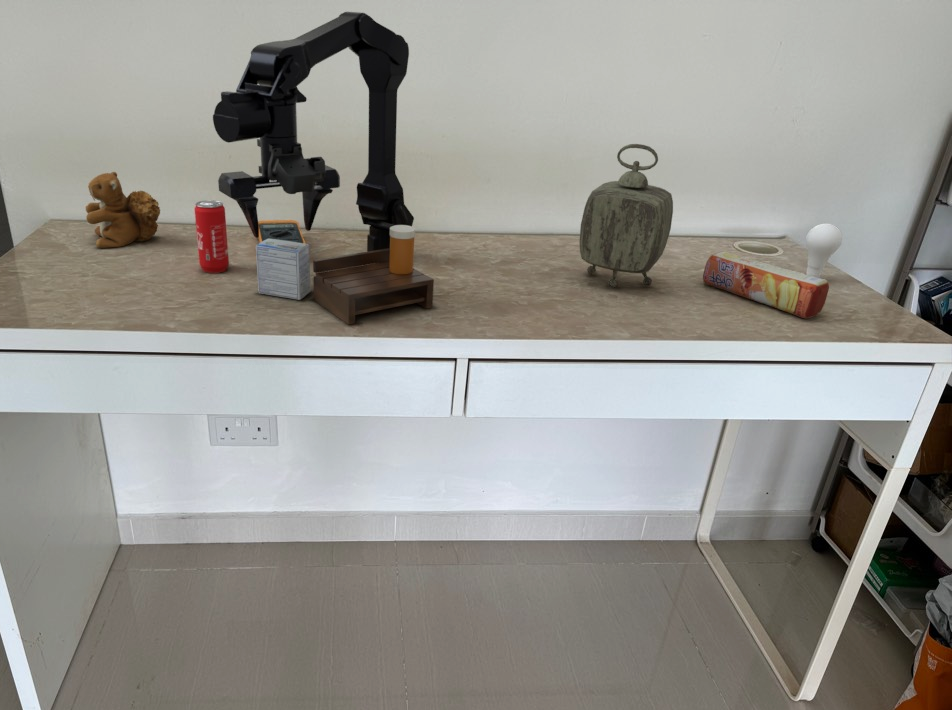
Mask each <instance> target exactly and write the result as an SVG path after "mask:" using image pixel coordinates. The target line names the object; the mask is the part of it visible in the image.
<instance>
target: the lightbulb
mask: <svg viewBox="0 0 952 710" xmlns="http://www.w3.org/2000/svg"><path fill="white" fill-rule="evenodd" d="M842 243H843V234H842V232H841V230H840V229H839V228H838V227H837V226H836V225H834V224H833V223H828V222H827V223H820V224H817V225H815V226H813V227H812V228H811V229H810V230H809V231H808V233H807V234H806V237H805V245H806V246H805V247H806V249H807V255H808V256H807V257H808V258H807V264H806V265H807V269H806V273H805V274H806V275H809V276H813V277H816V278H821V275H822V272H823V271H824V268H825V267H826V264H828V261H829V259H830V258H831V256H833V255H834V254H835V253H836V252H837V251H838V250H839V249H840V247H841V246H842Z"/></svg>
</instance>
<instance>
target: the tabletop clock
mask: <svg viewBox="0 0 952 710" xmlns="http://www.w3.org/2000/svg"><path fill="white" fill-rule="evenodd" d="M628 149H640V150H645V151H647V152H650V153H651V154H652V155H653V156H654V159H655V160H654V162H653V163H652V164H650V165H645V166H643V165H640V162H639V161H638V160H635V161H633V163H632V164H630V163H627V162H624V161H623V160H622V159H621V154H622V153H623V152H624V151H625V150H628ZM616 158H617V161H618V163H619V164H620V166H622V167H624V168H626V169H629V170H628V171H625V172H624V173H623V174H622V175H621V176H620V177H619V179H618V180H613V181H607V182H604V183H602V184H601V185H599V186H598V187H596V188H594V189H592V191H591V192H590V194H589V196H588V198H587V200H586V202H585V206H584V209H583V213H582V216H581V217H582V218H581V222H580V231H579V254H580V258H581V259H582V260H583V262H586V263H587V264H589V265H590V266H587V269H586V272H587V274H589V275H594V274H596V270H597V269H596V267H597V268H598V267H599V268H602V269H606V270H610V271H612V277H611V278H610V279H609V280H608V282H607V286H608V288H611V289H614V288H616V287H617V286H618V281H617V279H616V278H617V275H618V272H621V273H629V274H641V275H642V276H643V280H642V284H643V285H644V286H651V284H652V283H653V279H652V278H651V276H648V275H647V273H648V272H650V271H651V270H652V268H653V267H654V266H655V265H656V263H657V262H658V261H659V259H660V258H661V257H662V255H663V254H664V252H665V249H666V247H667V243H668V240H669V236H670V233H671V229H672V224H673V223H672V221H673V214H674V200H673V195H672V193H671V192H669V190H666V189H665V188H662V187H660V186H655V185H651V184H649V181H648V178H647V176H646V174H645V173H643V172H641V171H647V170H651V169H653V168H654V167H655V166H656V165H657V164H658V161H659V156H658V153H657V152H656V150H655V149H654V148H652V147H651V146H649V145H646V144H641V143H630V144H627V145H624V146H622V147H621V148H620V149H619V151H618V152H617V154H616Z"/></svg>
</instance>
